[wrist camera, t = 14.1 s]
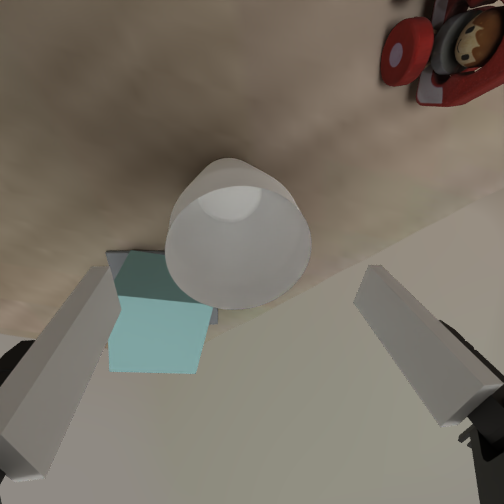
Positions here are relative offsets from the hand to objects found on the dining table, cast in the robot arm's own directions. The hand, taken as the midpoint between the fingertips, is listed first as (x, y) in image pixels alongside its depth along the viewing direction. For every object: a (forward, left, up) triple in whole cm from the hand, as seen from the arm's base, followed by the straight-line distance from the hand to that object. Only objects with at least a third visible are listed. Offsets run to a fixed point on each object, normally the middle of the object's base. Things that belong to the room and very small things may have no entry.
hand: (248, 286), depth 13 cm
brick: (-7, -13, -14) cm, 20 cm away
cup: (0, 0, -14) cm, 14 cm away
